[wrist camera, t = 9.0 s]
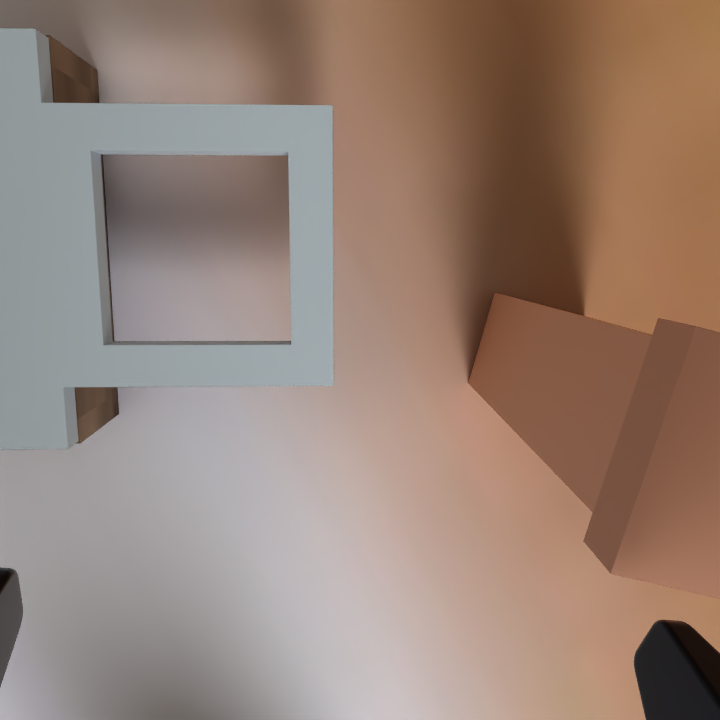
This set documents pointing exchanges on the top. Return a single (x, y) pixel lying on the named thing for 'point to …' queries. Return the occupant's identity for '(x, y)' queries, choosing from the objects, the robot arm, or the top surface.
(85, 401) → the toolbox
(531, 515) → the top surface
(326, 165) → the lid
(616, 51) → the top surface
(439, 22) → the top surface
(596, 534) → the salmon brown tall block
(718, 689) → the robot arm
